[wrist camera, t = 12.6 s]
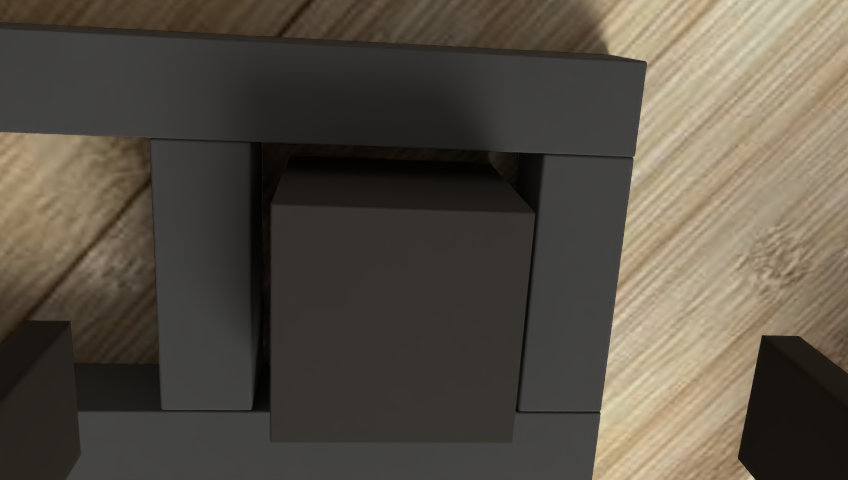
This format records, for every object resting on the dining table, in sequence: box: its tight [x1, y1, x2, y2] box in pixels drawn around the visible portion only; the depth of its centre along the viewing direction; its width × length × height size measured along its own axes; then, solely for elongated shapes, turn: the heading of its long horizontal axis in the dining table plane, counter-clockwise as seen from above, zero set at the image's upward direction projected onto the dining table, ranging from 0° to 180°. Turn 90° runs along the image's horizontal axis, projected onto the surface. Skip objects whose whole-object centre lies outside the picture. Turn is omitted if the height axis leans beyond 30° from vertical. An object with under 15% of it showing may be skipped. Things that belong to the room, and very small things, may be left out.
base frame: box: [0, 22, 647, 480], centre depth 22 cm, size 13×23×3 cm, turn 87°
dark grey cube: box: [270, 155, 535, 443], centre depth 21 cm, size 6×6×6 cm
